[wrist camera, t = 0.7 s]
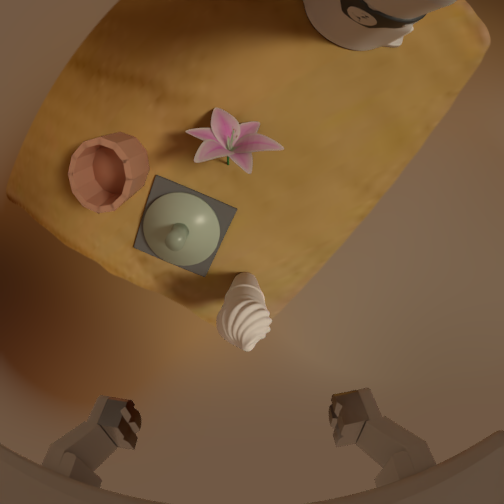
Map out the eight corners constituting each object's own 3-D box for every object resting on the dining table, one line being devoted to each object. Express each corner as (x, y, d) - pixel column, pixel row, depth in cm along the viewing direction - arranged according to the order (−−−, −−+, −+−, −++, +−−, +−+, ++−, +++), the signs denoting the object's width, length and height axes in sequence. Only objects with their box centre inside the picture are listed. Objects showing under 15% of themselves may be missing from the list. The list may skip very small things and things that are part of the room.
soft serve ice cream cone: (213, 275, 50) (200, 340, 36) (252, 253, 48) (252, 316, 34) (239, 306, 53) (235, 372, 39) (276, 287, 51) (285, 352, 37)
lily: (287, 154, 41) (298, 127, 31) (235, 209, 41) (233, 195, 31) (229, 110, 41) (226, 76, 31) (177, 160, 40) (161, 135, 31)
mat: (156, 174, 41) (156, 175, 41) (237, 208, 44) (237, 209, 44) (134, 246, 47) (133, 247, 47) (205, 276, 50) (205, 277, 50)
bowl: (101, 125, 37) (78, 129, 31) (158, 145, 39) (141, 152, 33) (85, 184, 41) (63, 197, 35) (137, 207, 44) (120, 223, 38)
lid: (157, 179, 41) (147, 187, 37) (232, 211, 44) (230, 222, 40) (137, 246, 47) (127, 259, 42) (203, 273, 49) (199, 289, 45)
